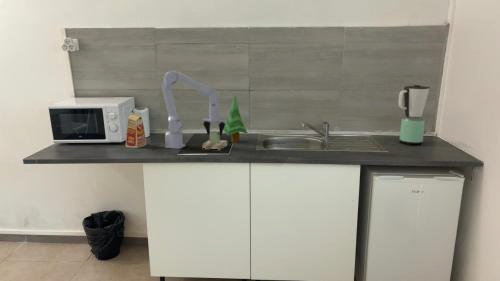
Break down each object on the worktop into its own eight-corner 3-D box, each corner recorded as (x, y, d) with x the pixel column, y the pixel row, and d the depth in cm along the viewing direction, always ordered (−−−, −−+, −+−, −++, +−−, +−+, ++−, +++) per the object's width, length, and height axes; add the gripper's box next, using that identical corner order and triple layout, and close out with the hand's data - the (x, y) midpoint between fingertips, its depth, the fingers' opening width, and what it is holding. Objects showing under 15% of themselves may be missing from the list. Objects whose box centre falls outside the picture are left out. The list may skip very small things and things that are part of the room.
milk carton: (125, 146, 214) (122, 113, 209) (135, 143, 222) (133, 110, 217) (138, 148, 211) (135, 114, 206) (148, 144, 219) (145, 111, 214)
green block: (209, 143, 210) (209, 132, 209) (212, 141, 214) (212, 131, 213) (217, 143, 209) (216, 133, 207) (219, 141, 213) (219, 131, 212)
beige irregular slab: (202, 148, 209) (202, 143, 208) (210, 144, 219) (210, 139, 219) (220, 150, 206) (220, 145, 205) (227, 145, 216) (227, 140, 215)
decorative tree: (251, 140, 228) (251, 92, 221) (236, 145, 215) (235, 95, 208) (234, 137, 235) (234, 91, 228) (218, 142, 223) (217, 93, 216)
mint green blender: (415, 139, 230) (421, 84, 221) (430, 145, 217) (437, 86, 209) (388, 141, 226) (394, 84, 217) (402, 146, 213) (408, 86, 205)
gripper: (199, 112, 206) (200, 135, 209) (223, 113, 202) (223, 137, 205) (204, 110, 212) (205, 132, 216) (228, 111, 208) (228, 134, 212)
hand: (214, 134), depth 211 cm, fingers open, 7 cm apart
